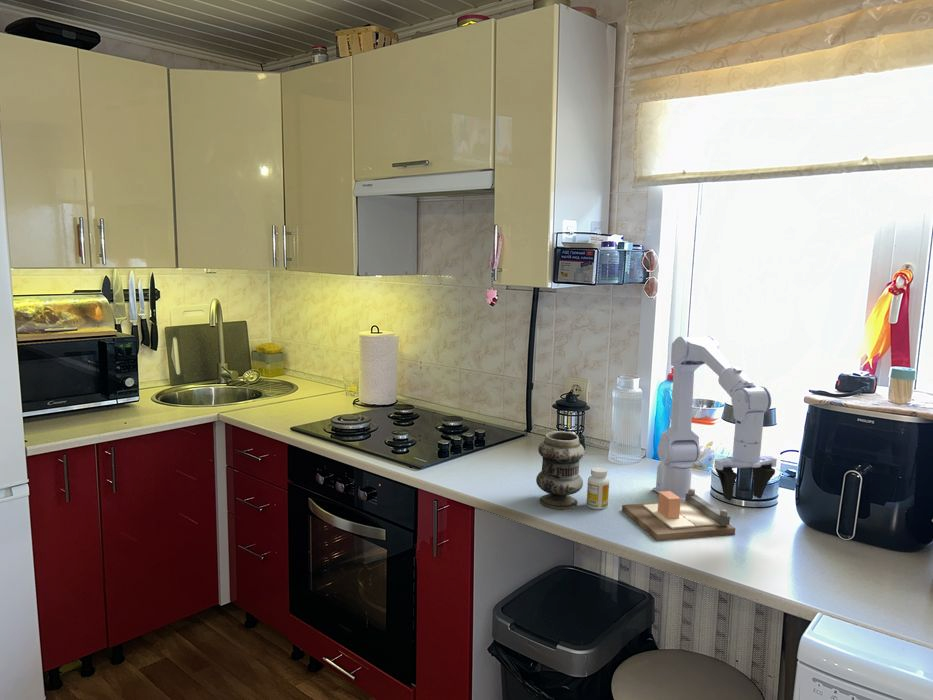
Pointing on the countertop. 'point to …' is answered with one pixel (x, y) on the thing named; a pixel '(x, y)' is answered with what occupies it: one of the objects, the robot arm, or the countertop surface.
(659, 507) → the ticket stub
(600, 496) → the supplement bottle
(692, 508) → the ticket board
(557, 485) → the apothecary jar
